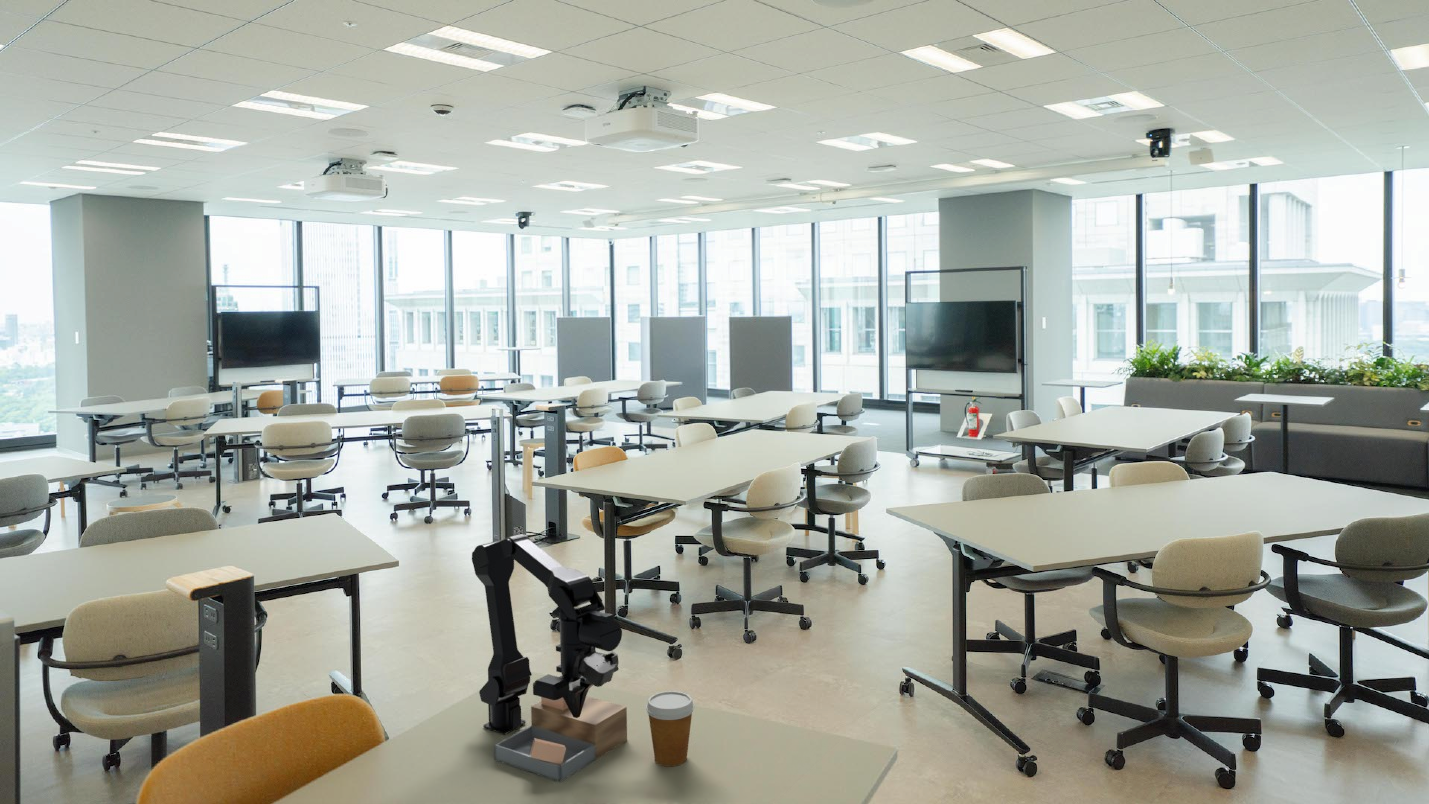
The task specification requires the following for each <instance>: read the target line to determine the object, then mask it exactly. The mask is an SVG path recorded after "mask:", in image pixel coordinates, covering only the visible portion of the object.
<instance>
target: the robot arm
mask: <svg viewBox="0 0 1429 804" xmlns="http://www.w3.org/2000/svg"><path fill="white" fill-rule="evenodd" d="M471 562H472V566H473V569H474V574H475V576H476V577H477V578H478V580H479V581H480V582H481V584H482V585H483V586H484V589H485V597H486V598H485V599H486V605H487V615H488V621H489V628H490V630H489V631H490V636H491V645H492V650H493V651H492V652H493V655H492V657H491V659H490V662H489V664H488V668H487V681H486V683H484V685H483V686H482V688H480V690H479V692H478V694H479V697H480V702H482V703H484V704H487V705H488V708H487V709H488V710H487V711H488V722H486V723H485V724H483V729H487V730H491V731H493V732H496V733H500V734H502V735H506V734H508V733H510V732H512V731H514V730H516V729H517V728H519V727H521V726H523V725H525V724H526V720H525V719H522V705H521V704H520V701H521V698H520V696H522V695H523V696H525V695H526V694H527V691H528V689H529V688H528V687H529V685H530V682H531V676H532V675H533V674H532V672H531V668H530V659H529V657H528V656H524V655H523V654H522V653H521V652H520V651H519V649H518V643H517V636H516V634H517V633H516V629H515V628H516V627H515V619H514V612H513V606H512V598H511V590H510V579H511V578H512V574H513V572H514V570H515V562H516V563H517V564H519V565H520V566H521V567H523V568H524V569H525V570H526V571H527V572H529V573H530V574H532V576H534V577H535V578H536V579H537V580H539V581H540V582H541V583H542V584H544V586H545V587H546V588H547V593H548V597H549V598H550V599H551V600H552V601H553V602H554V603H555V605H556V606H557V607H556V608H554V610H552V612H551V613H552V615H553V616H555V617H559V640H560V641H559V643H560V644H556V645H555V652H558V653H560V664H559V665H557V666H556V669H555V670H556V672H557V673H560V674H561V675H560V676H557V675H556V676H555V675H552V674H548V673H547V674H546V675H544V676H542V677H539V678H538V679H535V681H534V682H533V683H532V695H533V696H536V697H540V698H541V697H543V698H547V699H551V700H558V699H560V698H562V697H563V699H564V700H565V702H566V704H567V706H568V708H569V710H570V712H571V714H572V715H573V717H574V718H578V717H580V715H581V711H582V708H583V705H584V702H585V698H586V696H588V693H589V691H590V688H592V687H593V686H594V687H597V688H599V687H602V686H603V685H605V684H607V683H610V682H611V681H612V678H613V676H614V673H617V672H618V671H619V656H618V653H616V651H615V649H617V648H618V646H619V645H620V643H621V640H622V636H623V629H622V628H621V625H620V623H619V622H618V621H616V620H615V616H614V614H613V613H605V612H603V611H605V610H606V607H605V605H604V603H603V600H602V598H601V597H600V595H599V593H598V590H597V588H596V587H595V585H594V581H593V580H592V578H591V577H590V576H589V575H587V574H586V573H583V572H582V571H579V570H578V569H573V568H569V567H565V566H564V565H562V564H560V563H559V562H558V561H557V560H556V559H554V558H553V557H551V556H550V555H549V554H548V553H546V552H545V551H544V550H543V549H541V548H540V547H539V546H537V545H536V544H535V543H534V542H532V541H531V539H530V537H529V536H528V535H527V534H522V533H521V534H515V535H512V536H507V537H505V538H503V539H500V540H495V541H491V542H488V543H483V544H479V545H477V546H475V548H474V551H472V552H471ZM587 603H590V604H587ZM584 604H587V605H584ZM582 605H583V606H582ZM578 606H581V607H578ZM596 649H599V650H601V651H605V652H608V653H602V652H598V651H596Z"/></svg>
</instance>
